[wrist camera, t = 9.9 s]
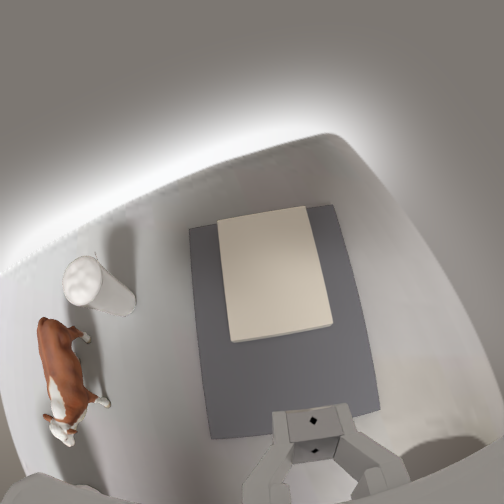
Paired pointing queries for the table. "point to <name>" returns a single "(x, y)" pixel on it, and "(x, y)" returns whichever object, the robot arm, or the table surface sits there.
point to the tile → (272, 275)
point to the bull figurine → (64, 378)
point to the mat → (281, 344)
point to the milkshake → (96, 288)
